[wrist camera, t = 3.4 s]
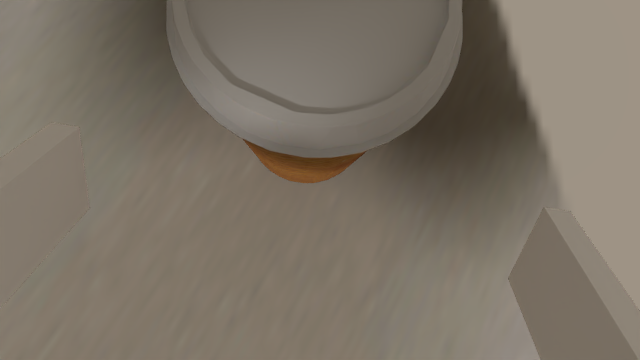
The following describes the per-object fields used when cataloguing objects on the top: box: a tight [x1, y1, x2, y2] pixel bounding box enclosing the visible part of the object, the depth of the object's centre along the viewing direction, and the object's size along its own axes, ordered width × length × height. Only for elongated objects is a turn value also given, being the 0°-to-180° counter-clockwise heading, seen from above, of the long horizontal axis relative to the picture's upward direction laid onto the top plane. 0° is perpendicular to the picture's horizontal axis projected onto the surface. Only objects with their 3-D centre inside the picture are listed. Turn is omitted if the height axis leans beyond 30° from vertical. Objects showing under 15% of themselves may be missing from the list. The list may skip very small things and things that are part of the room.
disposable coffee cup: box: [166, 0, 463, 183], centre depth 19 cm, size 10×10×12 cm
